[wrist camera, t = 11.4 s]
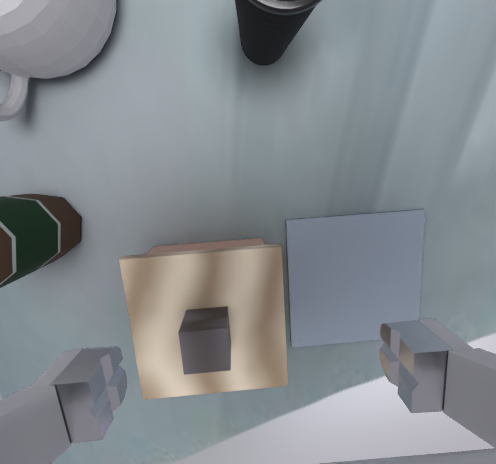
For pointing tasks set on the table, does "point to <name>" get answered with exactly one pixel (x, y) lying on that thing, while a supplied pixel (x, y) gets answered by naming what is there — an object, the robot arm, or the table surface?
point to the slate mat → (353, 275)
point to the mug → (48, 41)
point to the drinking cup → (270, 26)
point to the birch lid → (207, 320)
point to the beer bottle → (34, 233)
